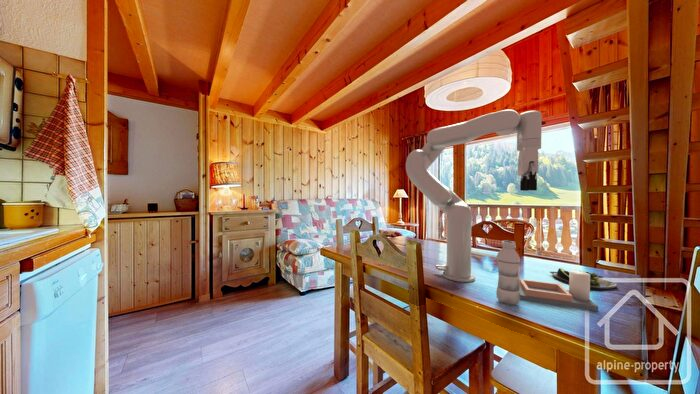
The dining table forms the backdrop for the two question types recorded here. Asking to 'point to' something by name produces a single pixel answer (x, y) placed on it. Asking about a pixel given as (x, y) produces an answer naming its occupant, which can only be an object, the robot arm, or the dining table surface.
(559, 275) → the salad plate
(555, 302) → the twin post tray
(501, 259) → the plastic bottle
